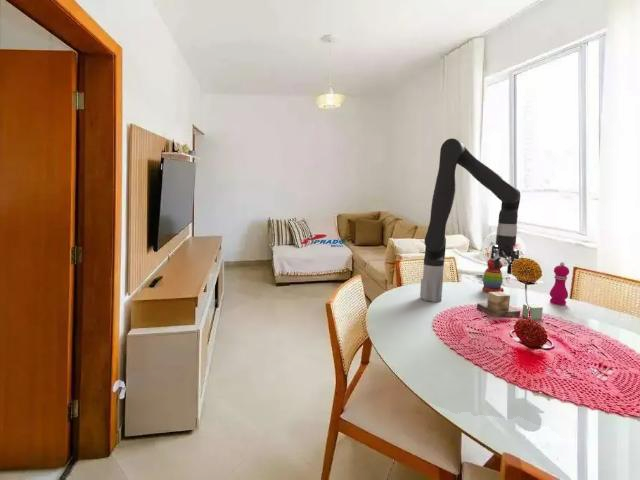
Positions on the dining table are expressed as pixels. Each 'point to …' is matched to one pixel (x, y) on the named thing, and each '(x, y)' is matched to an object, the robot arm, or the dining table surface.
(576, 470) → the dining table surface
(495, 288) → the stacking bear
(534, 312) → the green cube
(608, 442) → the dining table surface
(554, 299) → the pepper mill
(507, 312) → the base board
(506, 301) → the oak cube
